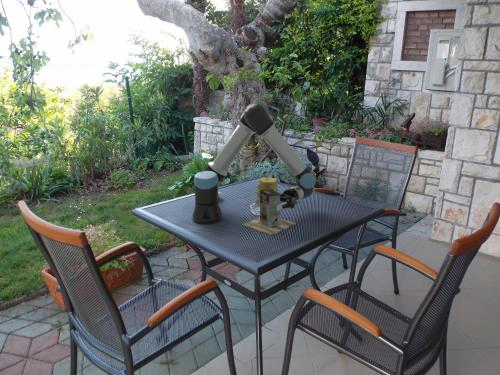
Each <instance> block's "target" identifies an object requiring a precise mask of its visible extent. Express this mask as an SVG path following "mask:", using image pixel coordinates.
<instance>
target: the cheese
mask: <svg viewBox="0 0 500 375" xmlns="http://www.w3.org/2000/svg"><path fill="white" fill-rule="evenodd" d="M256 187H257V188H256V189H257V192H256V197H257V198H260V190H264V189H272V190H274V191H276V192H278V178H277V177H264V176H263V177H260V178H259V179H258V184H257V186H256Z"/></svg>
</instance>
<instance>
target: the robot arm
mask: <svg viewBox="0 0 500 375" xmlns="http://www.w3.org/2000/svg"><path fill="white" fill-rule="evenodd" d="M269 114H270V113H269V109H268V107H267V106H266V104H264V103H263V102H260V101H252V102H250V103H248V104H247V105H246V107H245V109H244V111H243V112H242V114H241V115H240V116H239V118H238V124H237V126H236V128H234V131H233V132H232V133H231V135H230V136H229V138H228V139H227V141H225V143H224V144H223V146H222V148H221V149H220V151H219V152H218V154H217V155H216V157H215V158H214V159H213V161H208V163H207V164H206V166H204V169H202V171H199V172H197V173H196V174H195V175H194V177H193V184H194V185H193V186H194V201H195V202H194V209H193V213H192V219H191V220H192V221H193V222H194V223H196V224H202V225H208V224H215V223H219V222H221V221H222V220H223V212H222V210H221V207H220V202H219V198H218V192H219V189H220V187H221V184H222V183H223V182H224V180H225V178H226V177H227V176H228V172H227V171H228V170H229V168H230V167H231V165H232V163H233V162H234V161H235V159H236V158H237V157H238V155H239V154H240V152H241V151H242V149H243V148H244V147H245V145H246V144H247V142H248V141H249V140H250V139H251V137H252V135H255V134H256V135H257V136H258V137H262V138H263V140H264V141H265V142H266V144H267V145H268V146H269V147H270V148H271V150H272V151H273V152H274V153H275V154H276V155H277V157H278V158H279V159H280V160H281V161H282V162H283V164H284V166H286V167H287V169H289V171H290V172H291V174H292V175H293V176H294V177H295V179H296V186H295V185H294V186H291V187H290V188H287V189H285V190H284V191H283V192H282V193H280V202H281V203H280V204H279V205H277V211H280V212H281V211H282V210H285V209H289V208H290V209H294V207H296V204H298V202H299V201H301V200H304V199H306V198H310V197H311V196H313V194H315V191H316V188H315V184H316V177H315V175H314V173H313V163H312V162H311V161H309V160H302V159H301V157H300V156H299V155H298V154H297V152H296V151H295V150H294V149H293V148H292V146H291V145H290V144H289V143H288V142H287V140H286V139H285V138H284V137H283V136H282V134H281V133H280V132H279V131H278V129H277V128H276V126H275V122H274V121H273V120H272V118H271V116H270V115H269ZM254 205H255V206H256V205H260V197H257V198H256V199H254Z"/></svg>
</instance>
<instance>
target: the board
mask: <svg viewBox="0 0 500 375" xmlns="http://www.w3.org/2000/svg"><path fill="white" fill-rule="evenodd" d="M295 225H296V222H293V221H290V220H287V219H284V218H281V217H279V226H273V227H267V226H266V225H265V224H263V223H262V222H261V221H260V216H259V217H257V218H254V219H252V220H250V221H247V222H244V223H242V226H243V227H246V228H249V229H252V230H254V231H258V232H260V233H263V234H267V235H269V236H274V235H276V234H279V233H280V232H283V231H285V230H287V229H289V228H291V227H293V226H295Z"/></svg>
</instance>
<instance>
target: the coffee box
mask: <svg viewBox="0 0 500 375" xmlns="http://www.w3.org/2000/svg"><path fill="white" fill-rule="evenodd" d="M280 194H281V193H279V192H278V191H277V192H276V191H274V190H272V189H264V190H260V197H259V198H260V204H259V217H260V221H261V222H262V223H263V224H265V225H266V226H267V227H273V226H279V218H280V215H281V214H280V212H281V210H280V211H277V205H279V204H281V203H280V202H281V201H280Z"/></svg>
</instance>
